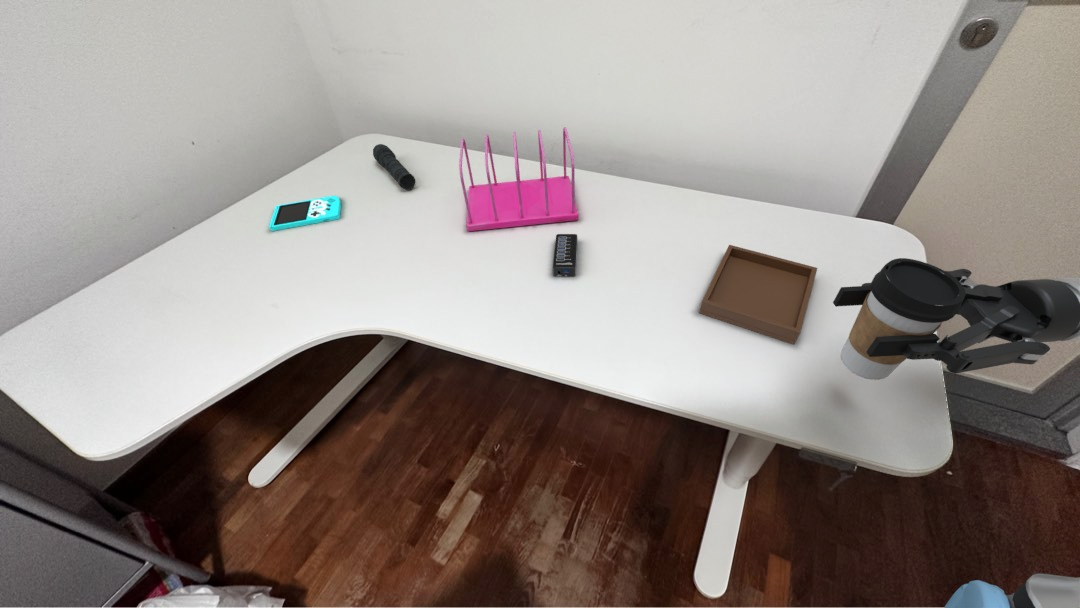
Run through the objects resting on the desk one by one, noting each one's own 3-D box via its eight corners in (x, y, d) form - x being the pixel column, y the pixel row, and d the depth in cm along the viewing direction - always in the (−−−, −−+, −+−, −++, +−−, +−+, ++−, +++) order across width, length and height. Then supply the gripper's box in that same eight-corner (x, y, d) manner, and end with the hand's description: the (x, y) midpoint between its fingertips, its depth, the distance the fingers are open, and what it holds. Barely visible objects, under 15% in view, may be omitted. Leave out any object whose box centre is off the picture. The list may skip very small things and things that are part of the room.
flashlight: (392, 157, 130) (386, 141, 127) (419, 187, 118) (414, 169, 114) (375, 163, 129) (369, 146, 125) (401, 194, 116) (395, 176, 112)
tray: (794, 344, 74) (800, 332, 72) (698, 313, 80) (701, 301, 78) (811, 280, 84) (817, 267, 82) (725, 256, 91) (729, 244, 89)
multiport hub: (577, 242, 97) (577, 233, 95) (575, 276, 89) (575, 267, 88) (556, 242, 98) (556, 233, 96) (553, 276, 90) (552, 267, 88)
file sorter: (578, 221, 102) (578, 156, 91) (467, 232, 102) (453, 168, 91) (569, 181, 115) (567, 120, 104) (470, 191, 115) (458, 130, 103)
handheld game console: (339, 219, 109) (337, 214, 108) (270, 232, 108) (267, 227, 107) (342, 198, 116) (340, 193, 115) (277, 209, 115) (274, 204, 114)
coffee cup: (837, 329, 65) (887, 246, 55) (906, 354, 61) (974, 270, 51) (822, 369, 61) (874, 286, 50) (896, 399, 57) (969, 317, 46)
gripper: (1100, 400, 50) (887, 411, 51) (972, 276, 64) (807, 286, 65) (1162, 358, 45) (922, 370, 45) (1007, 233, 59) (827, 244, 60)
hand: (855, 320), depth 55 cm, fingers closed on coffee cup, 8 cm apart
